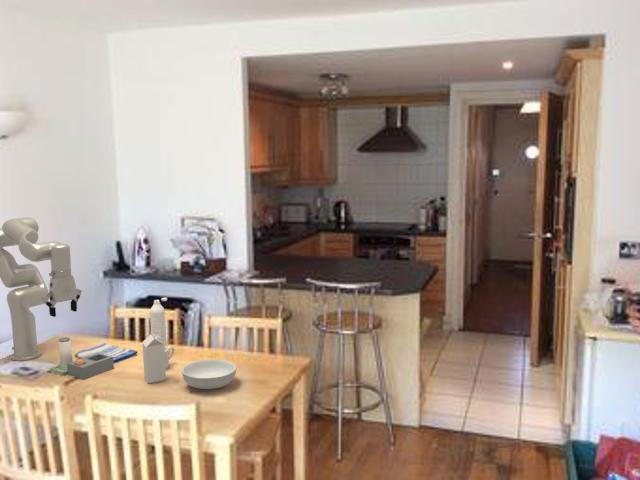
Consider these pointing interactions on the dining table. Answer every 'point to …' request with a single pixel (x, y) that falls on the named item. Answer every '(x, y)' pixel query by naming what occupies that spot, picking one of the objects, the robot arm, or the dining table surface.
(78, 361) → the plunger
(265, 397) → the dining table surface
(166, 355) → the mug
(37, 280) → the robot arm
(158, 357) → the milk carton
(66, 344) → the cylinder
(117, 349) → the dish towel
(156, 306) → the water bottle
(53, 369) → the tray
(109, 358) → the housing
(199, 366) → the serving bowl
